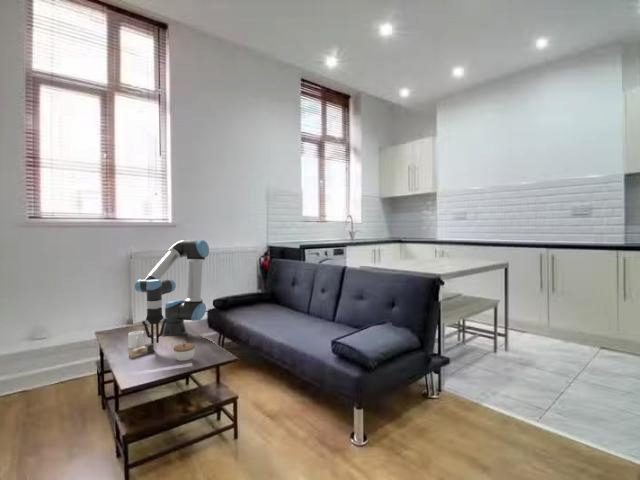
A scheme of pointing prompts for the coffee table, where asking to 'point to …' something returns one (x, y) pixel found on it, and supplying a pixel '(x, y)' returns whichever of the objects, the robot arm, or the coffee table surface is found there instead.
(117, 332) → the coffee table surface
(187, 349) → the lidded jar
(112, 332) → the coffee table surface
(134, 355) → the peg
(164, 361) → the coffee table surface
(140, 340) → the mug
